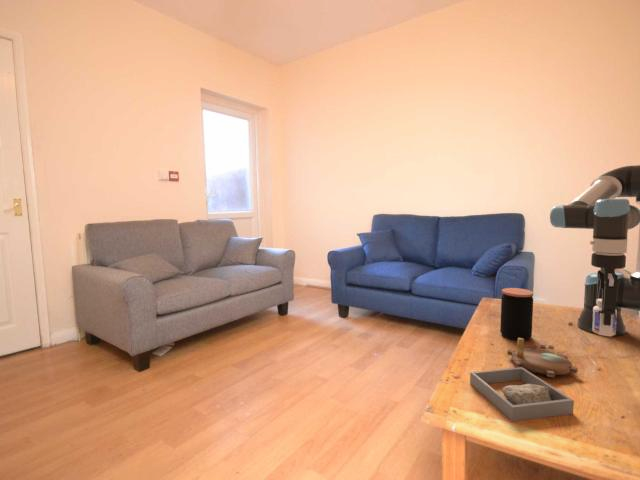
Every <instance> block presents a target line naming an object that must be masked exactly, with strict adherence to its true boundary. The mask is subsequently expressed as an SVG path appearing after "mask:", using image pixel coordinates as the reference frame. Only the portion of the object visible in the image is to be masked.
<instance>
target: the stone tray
mask: <svg viewBox="0 0 640 480" xmlns="http://www.w3.org/2000/svg"><path fill="white" fill-rule="evenodd" d="M469 376H470V379H469V384H470V385H471V386H472V387H474V389H475V390H477V391H478V392H479V394H481V395H483V396H484V398H486V399H487V400H488V401H489V402H490V403H491V404H492V405H493V406H495V407H496V408H497V409H498V410H499V411H500V412H501V413H502V414H503V415H505V416H506V418H508V419H509V420H510V421H511V422H515V421H524V420H525V421H526V420H533V419H541V418H548V417H550V418H551V417H555V416H556V417H559V416H565V415H573V414H574V403H575V402H574V401H575V400H574V399H572V398H571V397H569V396H568V395H567V394H565V393H563V392H562V391H560V390H559V389H557V388H555V387H554V386H552V384H549V383H548V382H546V381H545V380H543V379H541V378H540V377H538V376H536V375H535V373H534V374H533V372H530V371H528V370H526V369H525V368H523V367H509V368H499V369H489V370H479V371H470V375H469ZM514 381H522V382H524V383H525V384H534V385H540V386H545V387H547V388H548V393H549V396H550V398H551V400H552V401H545V402H537V403H528V404H519V405H513V404H511V403H510V402H509V401H508V400H507V398H506V397H505V396H504V395H502V394H501V393H499V392H498V391H497V390H496V389H495V388H493V387H492V386H491V385H489V384H494V383H496V384H497V383H505V382H514Z"/></svg>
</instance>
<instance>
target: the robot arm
mask: <svg viewBox="0 0 640 480" xmlns="http://www.w3.org/2000/svg"><path fill="white" fill-rule="evenodd" d="M627 198H635V203H636V204H637V205H639V206H640V164H639V165H626V166H620V167H618V168H614V169H612V170H609V171H607V172H605V173H603V174H601V175H599V176H598V177H596V178H595V179H593V181H592V182H591V184H590V185H589V187H587V189H586V190H585V191H583V192H582V193H581V194H579V195H578V196H577V197H575V198H574V199H573V200H572V201H570V203H568V204H566V205H565V204H562V205H561V204H560V205H555V206H553V207H552V208H551V210H550V213H549V220H550V221H549V222H550V224H551V226H552V227H554V228H561V229H562V228H563V229H580V230H582V229H583V230H584V229H585V230H588V229H589V230H590V229H591V230H593V231H592V232H593V233H592V240H591V241H589V244H590V245H592V249H591V250H592V254H591V262H590V263H591V266H592V267H595V268H600V269H598V270H597V272H591V273H588V274H587V275H586V277H585V282H584V296H583V309H582V311H581V313H580V315H579V317H578V319H577V322H576V323H577V327H578V328H579V329H581V330H583V331H586V332H590V333H593V334H597V333H595V332H593V331H592V322H593V307H594V306H597V304H596V300H597V299H602V310H601V311H598V312H599V313H600V329H599V334H597V335H599V336H603V337H604V336H605V337H613V336H614V337H618V336H624V335H626V329H627V327H626V325H625V322H624V320H623V316H622V309H628V310H632V311H638V312H640V208H639V207H636V206H635V205H632V204H630V200H629V199H627ZM637 226H639V228H638V240H637V252H636V266H635V270H634V271H633V272H631V273H630V274H629V278H627V277H625V275H624V273H622V272H616V271H615V270H622V269H624V268H626V261H627V260H626V259H627V255H625V254H626V253H627V252H628V251H627V250H628V248H627V247H628V231H629V230H631V229H634V228H635V227H637ZM615 309H616V310H617V321H616V334H615V335H613V336H612V327H613V314H615V313H616V311H615Z"/></svg>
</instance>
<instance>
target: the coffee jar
mask: <svg viewBox="0 0 640 480" xmlns="http://www.w3.org/2000/svg"><path fill="white" fill-rule="evenodd" d="M501 293H502V295H501V302H500V304H501V307H500V329H499V330H500V334H501V335H502V337H504V338H506V339H509V340H511V341H517V342H518V338H523V339H524V342H526V341H528V340H530V339H531V338H532V333H533V332H532V331H533V315H534V314H533V313H534V311H533V310H534V298H533V297H534V291H532V290H529V289H525V288H518V287H507V288H502V289H501Z"/></svg>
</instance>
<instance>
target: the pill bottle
mask: <svg viewBox="0 0 640 480" xmlns="http://www.w3.org/2000/svg"><path fill="white" fill-rule="evenodd" d="M596 304H597V306H594V307H593V322H592V331H593V332H595V333H594V334H596V333H597V335H599V329H600V313H599V312H598V311H601V310H602V299H597V300H596ZM615 311H616V313H615V314H613V327H612V337H613V335H615V334H616V321H617V310H616V309H615Z"/></svg>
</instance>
